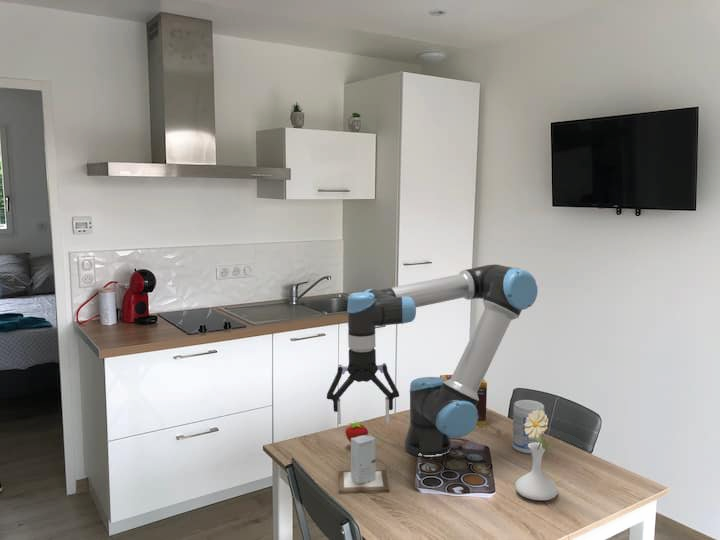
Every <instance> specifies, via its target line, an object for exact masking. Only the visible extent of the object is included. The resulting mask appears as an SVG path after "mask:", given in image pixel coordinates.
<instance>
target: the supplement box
mask: <svg viewBox="0 0 720 540" xmlns="http://www.w3.org/2000/svg"><path fill="white" fill-rule="evenodd" d="M452 375H453V374H440V375H439V377H440V378H444V379H445V380H446V381H447V380H450V379H451V377H452ZM487 390H488V382H487V381H486V379H485V377H484V378H483V380H482V382H481V385H480V387H479V389H478V391H477V395H478V398H479V401H478V403H477V405H476V409H477V411H478V413H477V414H478V421H477V424H476V426H486V425H487V395H488V392H487Z"/></svg>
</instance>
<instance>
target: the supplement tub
mask: <svg viewBox="0 0 720 540" xmlns="http://www.w3.org/2000/svg"><path fill="white" fill-rule="evenodd" d="M536 410H538V411H541V410H542V411H543V412H544V413H545V405H544V404H543V403H541V402H540V401H536V400H534V399H533V400H531V399H520V400H516V401H515V402H514V403H513V413H512V414H513V416H512V418H513V419H512V443H511V445H512V447H513V449H514V450H516V451H517V452H520V453H524V454H532V453H531V450H530V448H529V447H528V444H529V443H534V442H537V441H536V440H535V439H533V438H529V437H528V435H529V434H527V435H526V432H525V427H526V426H525V425H524V424H525V423H526V418H527V417H528V415H529V414H532V412H533V411H536ZM539 438H540V440H541V441H542V435H541V437H539ZM537 443H539V442H537Z"/></svg>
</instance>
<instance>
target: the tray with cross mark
mask: <svg viewBox="0 0 720 540" xmlns="http://www.w3.org/2000/svg"><path fill="white" fill-rule="evenodd" d="M368 493H369V494H370V493H371V494H372V493H376V494H377V493H390V486H389V480H388V474H387V470H386V469H376V478H375V479H374V480H371V481H368V482H364V483H361V484H358V483H356V482H355V481H353V480H352V479H351V469H350V470H338V494H368Z"/></svg>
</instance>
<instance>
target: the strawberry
mask: <svg viewBox="0 0 720 540" xmlns="http://www.w3.org/2000/svg"><path fill="white" fill-rule="evenodd" d="M348 424H350V425H349V426H347V427H346V428H345V436H346V438H347V440H348V441H349V442H350V444H351V438H355V437H358V436H363V435H367V434H368V435H369V431H368V428H367V427H366V426H365V425H364V424H363V423H362V422H358V421H355V422H349V423H348Z"/></svg>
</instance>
